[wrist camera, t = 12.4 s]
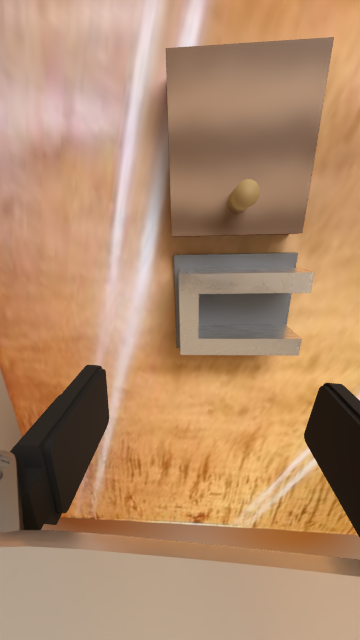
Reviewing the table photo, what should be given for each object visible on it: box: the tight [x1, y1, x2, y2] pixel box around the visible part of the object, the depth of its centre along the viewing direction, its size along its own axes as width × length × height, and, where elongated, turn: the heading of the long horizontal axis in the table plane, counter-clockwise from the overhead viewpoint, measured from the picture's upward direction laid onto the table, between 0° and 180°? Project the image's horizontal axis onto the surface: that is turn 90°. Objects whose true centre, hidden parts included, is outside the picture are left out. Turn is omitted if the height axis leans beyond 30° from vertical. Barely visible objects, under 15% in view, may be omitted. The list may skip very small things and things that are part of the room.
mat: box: [174, 253, 298, 348], centre depth 27 cm, size 12×14×1 cm
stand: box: [166, 37, 334, 237], centre depth 19 cm, size 14×13×6 cm
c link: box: [179, 267, 314, 355], centre depth 25 cm, size 13×9×4 cm
